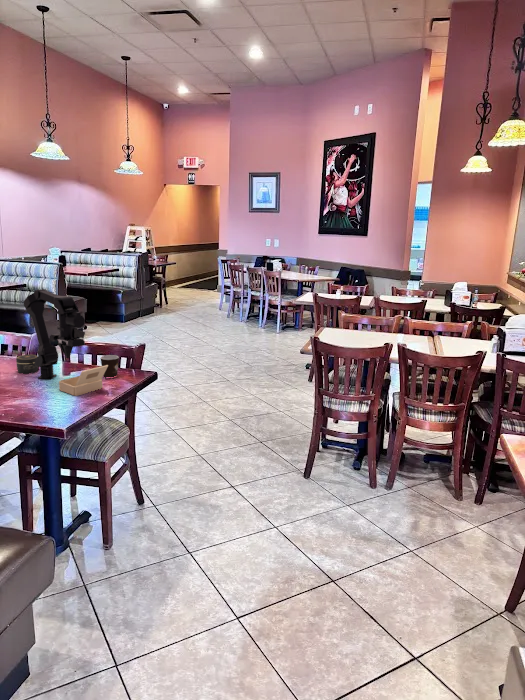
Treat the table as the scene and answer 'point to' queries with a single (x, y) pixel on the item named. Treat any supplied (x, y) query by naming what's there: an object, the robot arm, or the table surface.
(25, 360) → the jar
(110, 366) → the coffee mug
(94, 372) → the flap
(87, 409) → the table surface
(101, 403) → the table surface
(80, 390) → the kraft box
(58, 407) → the table surface
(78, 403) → the table surface
